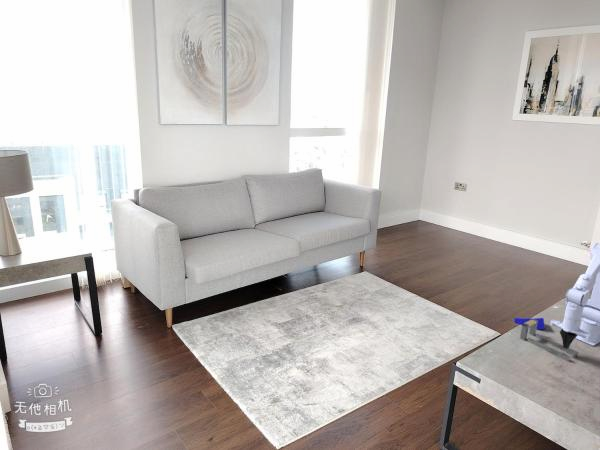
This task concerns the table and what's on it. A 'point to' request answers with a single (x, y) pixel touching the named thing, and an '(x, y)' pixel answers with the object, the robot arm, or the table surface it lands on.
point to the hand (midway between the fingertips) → (565, 347)
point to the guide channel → (554, 349)
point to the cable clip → (523, 320)
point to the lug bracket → (526, 325)
